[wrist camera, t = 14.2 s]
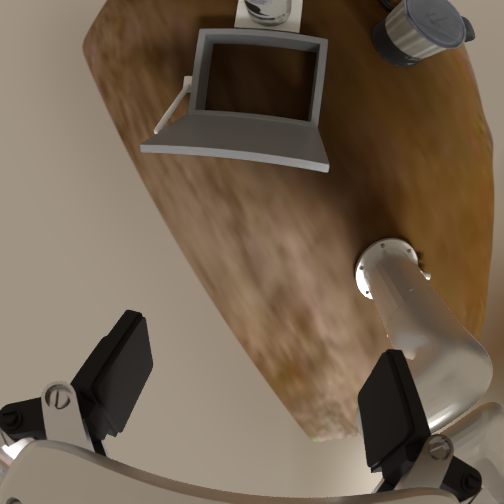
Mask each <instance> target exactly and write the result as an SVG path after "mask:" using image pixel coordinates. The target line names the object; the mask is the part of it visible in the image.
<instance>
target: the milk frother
mask: <svg viewBox="0 0 504 504" xmlns="http://www.w3.org/2000/svg"><path fill="white" fill-rule="evenodd" d="M380 1H381V3H382V4H383V5H384V6H385V7H386V8H387V9H389V10H391V13H389V14H388V16H387V17H386V18H384V19H383V20H382V21H379V22H378V23H377V24H376V25H375V26H374V28H373V30H372V40H373V44H374V46H375V48H376V49H377V51H378V52H379V54H380V55H381V56H382V57H383V58H384V59H386V60H387V61H388V62H390V63H392V64H394V65H397V66H400V67H410V66H413V65H415V64H417V63H418V62H419V61H420V60H422V59H425V58H427V57H429V56H431V55H434V54H436V53H438V52H441V51H443V50H446V49H455V48H458V47H460V46H461V45H462V44H463V43H464V42H468V41H471V40H474V39H475V33H474V30H473V28H472V25H471V24H470V22H469V20H468V19H466V18H465V17H462V16H460V14H459V12H458V11H457V10H456V9H455V7H454V6H453V5H452V4H451V3H450V2H449V1H448V0H402V1H401V2H400V3H399V4H398V5H397V6H396V7H395V6H393V5H392V4H390V3H389V2H388V1H387V0H380Z"/></svg>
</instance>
